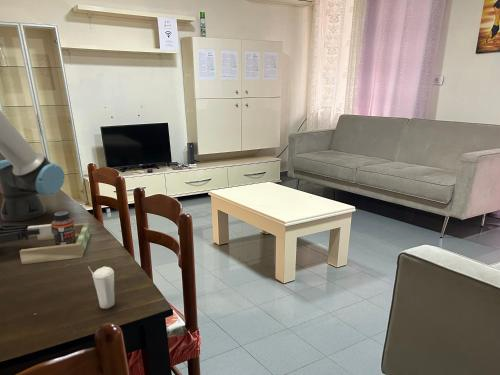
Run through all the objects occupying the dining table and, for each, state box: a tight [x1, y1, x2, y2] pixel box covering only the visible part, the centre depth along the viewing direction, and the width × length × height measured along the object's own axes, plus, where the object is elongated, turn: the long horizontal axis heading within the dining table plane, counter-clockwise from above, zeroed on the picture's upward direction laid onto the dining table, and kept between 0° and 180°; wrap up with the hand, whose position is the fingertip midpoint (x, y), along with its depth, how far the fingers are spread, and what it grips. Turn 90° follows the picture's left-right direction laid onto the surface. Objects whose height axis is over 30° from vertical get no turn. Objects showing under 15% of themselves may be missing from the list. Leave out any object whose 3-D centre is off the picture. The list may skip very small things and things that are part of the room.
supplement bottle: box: [51, 210, 77, 246], centre depth 114 cm, size 6×6×11 cm
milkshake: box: [87, 266, 116, 310], centre depth 83 cm, size 5×5×10 cm
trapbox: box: [19, 222, 91, 265], centre depth 115 cm, size 19×16×4 cm
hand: (52, 228), depth 113 cm, fingers closed
